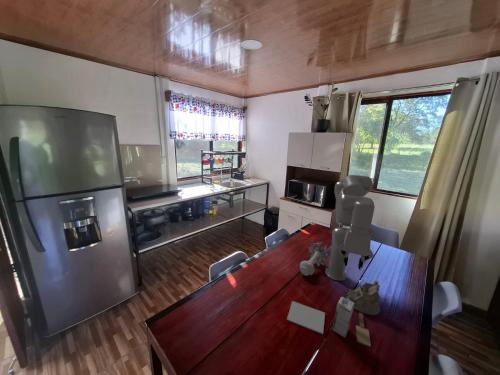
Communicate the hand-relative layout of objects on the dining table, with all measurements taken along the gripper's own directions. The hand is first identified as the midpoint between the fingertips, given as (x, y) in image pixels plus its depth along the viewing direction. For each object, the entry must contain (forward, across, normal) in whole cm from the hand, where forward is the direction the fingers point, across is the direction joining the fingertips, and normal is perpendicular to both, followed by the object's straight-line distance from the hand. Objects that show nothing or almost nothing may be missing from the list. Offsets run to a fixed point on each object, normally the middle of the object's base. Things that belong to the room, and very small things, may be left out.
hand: (352, 265), depth 92 cm
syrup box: (+28, +1, +9) cm, 29 cm away
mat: (+27, +16, +9) cm, 33 cm away
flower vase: (+28, +18, -32) cm, 46 cm away
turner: (+27, -8, +5) cm, 29 cm away
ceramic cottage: (+28, -10, -14) cm, 33 cm away
